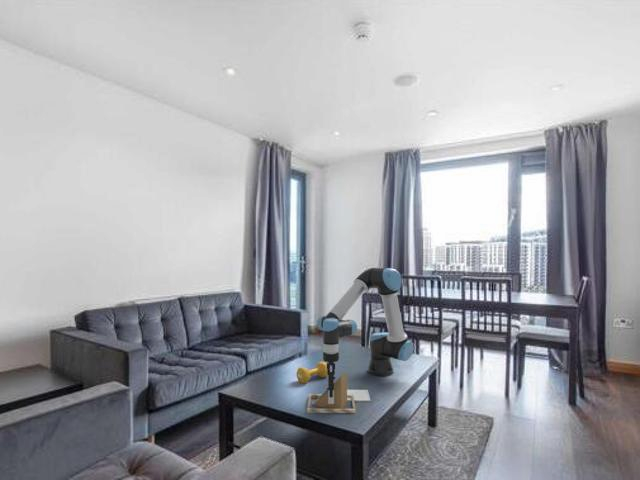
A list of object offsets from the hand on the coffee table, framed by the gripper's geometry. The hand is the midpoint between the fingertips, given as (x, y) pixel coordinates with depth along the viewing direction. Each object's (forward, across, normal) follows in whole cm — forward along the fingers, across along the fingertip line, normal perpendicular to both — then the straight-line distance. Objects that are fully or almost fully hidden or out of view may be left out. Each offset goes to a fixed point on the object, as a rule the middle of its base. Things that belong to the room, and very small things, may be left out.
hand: (331, 398), depth 173 cm
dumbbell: (+3, -34, -10) cm, 35 cm away
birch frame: (+3, 0, 0) cm, 3 cm away
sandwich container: (+4, -1, -1) cm, 4 cm away
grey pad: (+3, -10, +12) cm, 17 cm away
